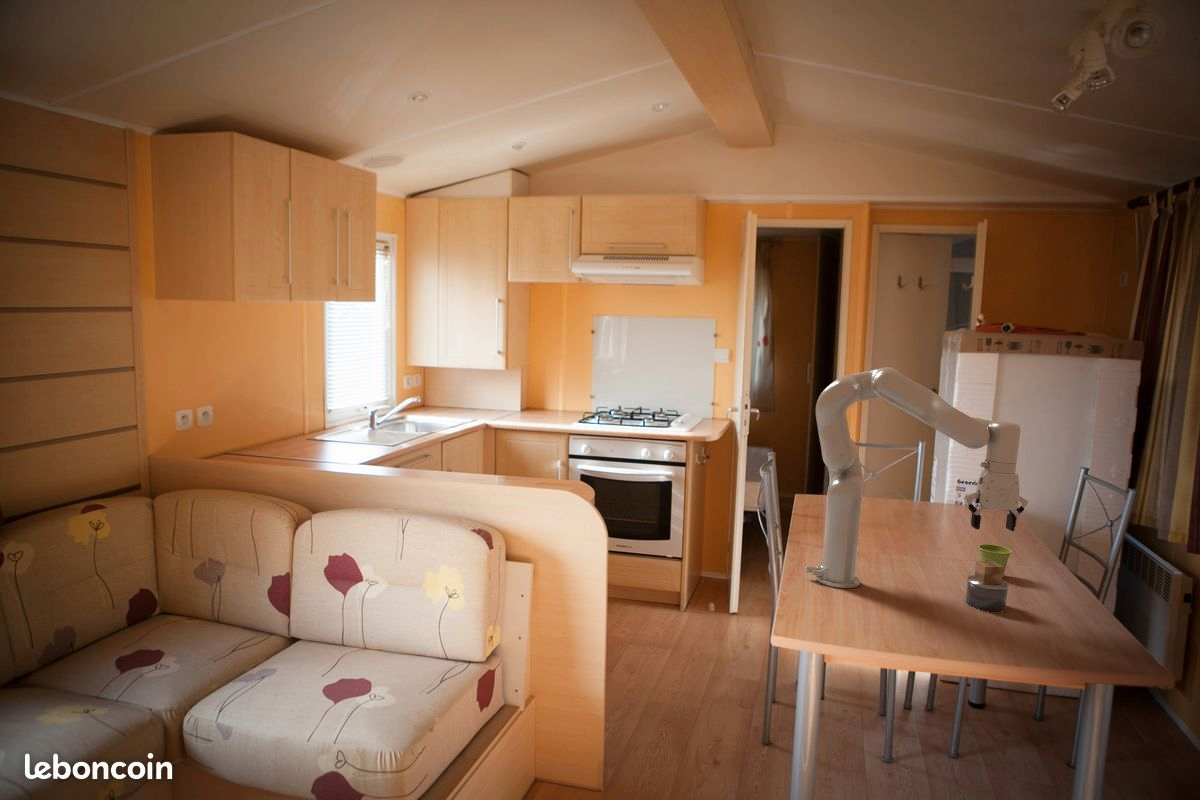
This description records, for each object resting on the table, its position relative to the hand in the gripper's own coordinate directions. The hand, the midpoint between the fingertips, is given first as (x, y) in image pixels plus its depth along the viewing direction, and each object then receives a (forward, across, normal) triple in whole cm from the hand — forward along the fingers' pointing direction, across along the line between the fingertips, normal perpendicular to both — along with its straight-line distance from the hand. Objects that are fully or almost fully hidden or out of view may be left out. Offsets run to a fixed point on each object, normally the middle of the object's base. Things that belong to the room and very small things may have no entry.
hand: (992, 528), depth 221 cm
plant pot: (+22, +16, +26) cm, 38 cm away
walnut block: (+15, 0, 0) cm, 15 cm away
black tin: (+22, 0, 0) cm, 22 cm away
